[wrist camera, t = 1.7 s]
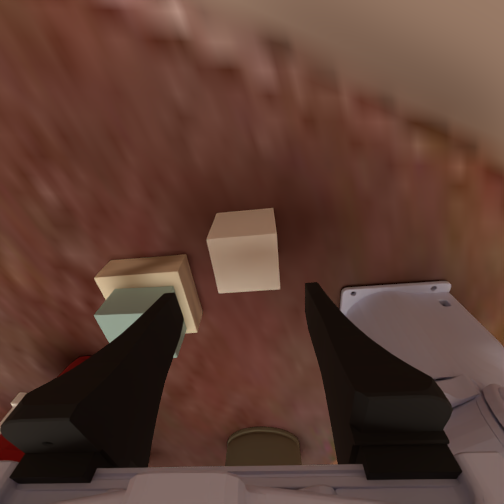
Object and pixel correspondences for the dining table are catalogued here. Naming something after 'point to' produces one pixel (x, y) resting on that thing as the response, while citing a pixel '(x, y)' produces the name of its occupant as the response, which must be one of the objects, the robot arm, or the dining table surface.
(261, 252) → the cream cube
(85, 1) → the dining table surface
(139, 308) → the teal block
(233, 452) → the can
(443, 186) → the dining table surface
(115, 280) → the birch slab
